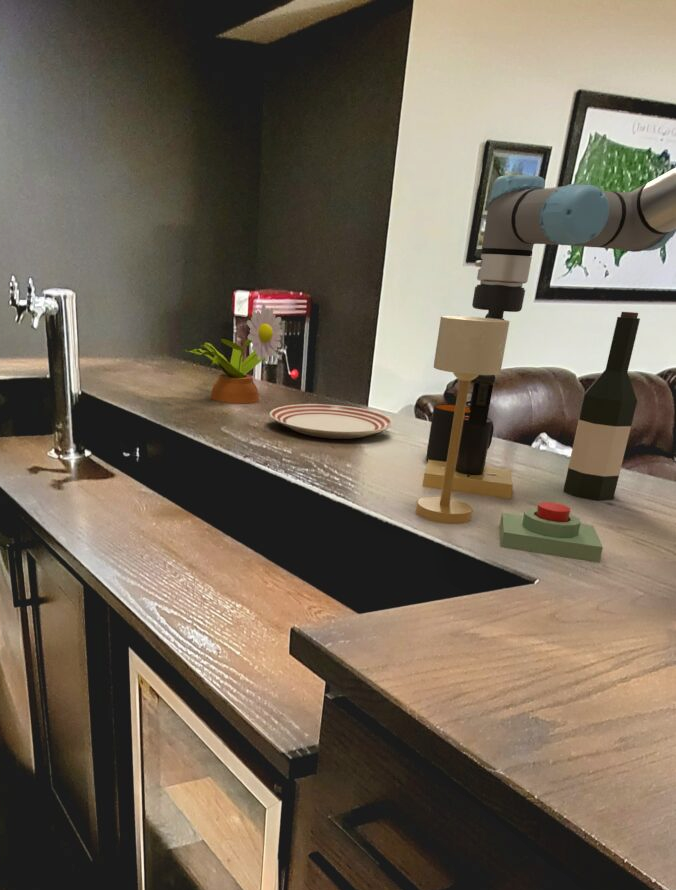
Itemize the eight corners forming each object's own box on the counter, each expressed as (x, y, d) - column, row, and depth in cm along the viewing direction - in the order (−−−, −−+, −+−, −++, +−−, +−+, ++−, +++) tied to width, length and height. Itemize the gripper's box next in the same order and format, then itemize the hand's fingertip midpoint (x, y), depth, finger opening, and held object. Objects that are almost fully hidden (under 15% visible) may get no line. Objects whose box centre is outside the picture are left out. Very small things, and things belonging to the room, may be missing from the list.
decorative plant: (233, 410, 177) (240, 304, 169) (167, 394, 192) (169, 297, 184) (300, 400, 196) (309, 304, 188) (234, 387, 211) (240, 298, 203)
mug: (495, 468, 136) (505, 414, 133) (433, 465, 136) (442, 411, 132) (479, 457, 144) (488, 406, 141) (420, 454, 144) (428, 403, 140)
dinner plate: (365, 451, 144) (367, 434, 143) (246, 429, 157) (247, 414, 156) (408, 430, 166) (410, 415, 165) (301, 412, 179) (302, 399, 178)
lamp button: (566, 516, 99) (568, 504, 98) (569, 525, 95) (572, 513, 94) (534, 512, 100) (537, 500, 99) (536, 521, 96) (539, 508, 96)
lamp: (474, 511, 111) (508, 319, 101) (473, 529, 103) (510, 322, 93) (414, 502, 113) (442, 314, 104) (409, 519, 105) (439, 317, 96)
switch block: (589, 540, 101) (596, 513, 100) (599, 563, 93) (606, 534, 91) (499, 526, 104) (504, 500, 103) (500, 547, 96) (506, 519, 95)
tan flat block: (508, 483, 127) (511, 469, 126) (510, 499, 118) (513, 483, 117) (426, 472, 131) (428, 458, 130) (422, 487, 122) (424, 472, 121)
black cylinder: (483, 469, 125) (492, 416, 122) (483, 476, 120) (493, 421, 117) (454, 466, 126) (463, 413, 123) (453, 472, 122) (462, 418, 119)
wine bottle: (553, 490, 124) (592, 310, 114) (574, 483, 129) (613, 310, 120) (603, 503, 118) (648, 314, 108) (622, 495, 124) (667, 314, 114)
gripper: (476, 281, 126) (456, 402, 133) (475, 283, 103) (450, 429, 110) (522, 284, 124) (499, 407, 131) (530, 287, 101) (502, 435, 108)
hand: (477, 417), depth 121 cm, fingers open, 13 cm apart
